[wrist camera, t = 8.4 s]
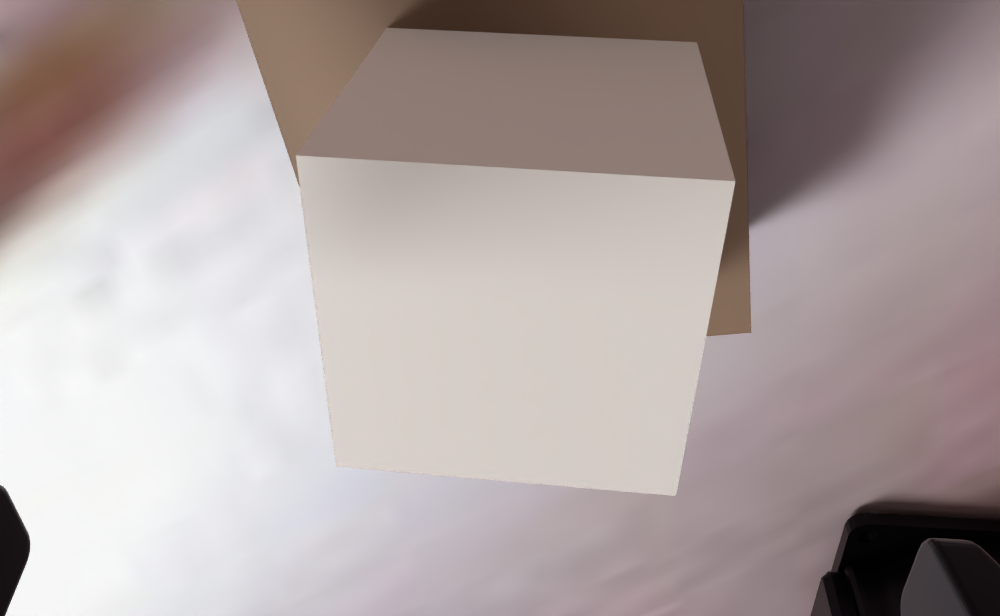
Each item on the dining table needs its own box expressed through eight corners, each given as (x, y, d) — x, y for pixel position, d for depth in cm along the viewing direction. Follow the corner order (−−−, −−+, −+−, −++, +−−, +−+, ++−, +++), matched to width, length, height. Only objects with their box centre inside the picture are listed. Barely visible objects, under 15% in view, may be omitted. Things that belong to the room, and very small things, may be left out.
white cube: (697, 41, 14) (736, 180, 10) (658, 302, 16) (676, 495, 12) (386, 28, 14) (295, 155, 10) (401, 284, 17) (335, 466, 13)
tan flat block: (712, -153, 16) (740, -118, 12) (727, 231, 20) (750, 332, 17) (300, -76, 17) (227, -27, 14) (397, 265, 21) (359, 364, 18)
